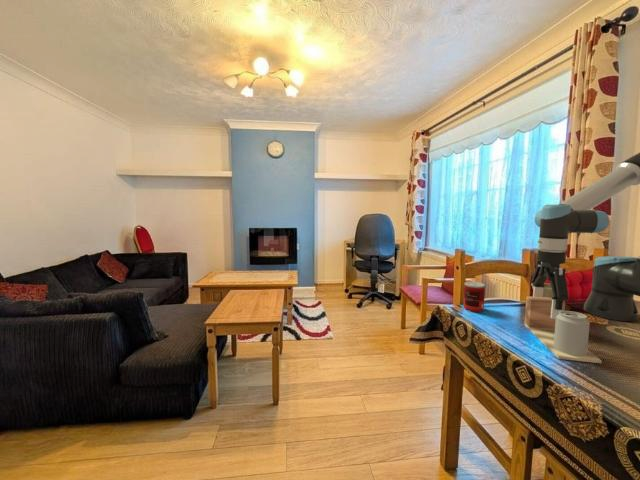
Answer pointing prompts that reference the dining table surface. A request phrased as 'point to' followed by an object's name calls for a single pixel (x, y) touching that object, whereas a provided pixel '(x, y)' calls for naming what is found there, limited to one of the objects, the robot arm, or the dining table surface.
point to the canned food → (474, 296)
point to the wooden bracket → (548, 327)
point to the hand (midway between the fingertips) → (545, 311)
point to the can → (571, 333)
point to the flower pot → (546, 290)
